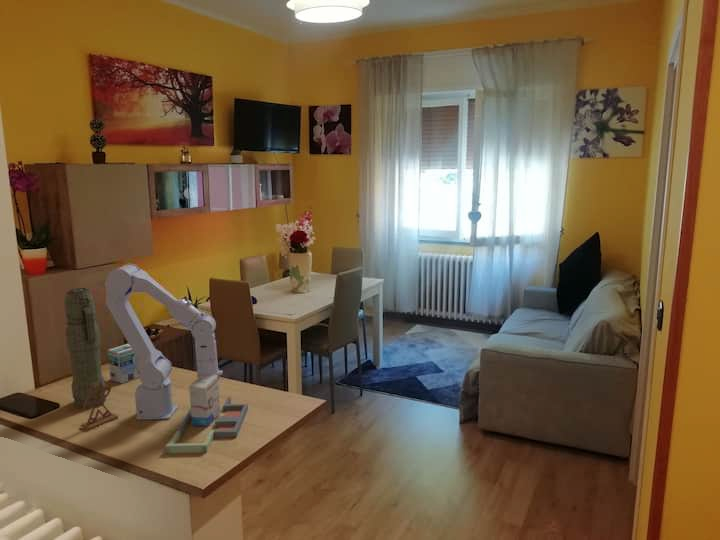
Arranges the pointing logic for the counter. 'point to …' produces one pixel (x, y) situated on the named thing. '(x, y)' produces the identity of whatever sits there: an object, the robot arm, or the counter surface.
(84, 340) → the grey stone statue
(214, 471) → the counter surface
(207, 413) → the ink box
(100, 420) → the wooden stand
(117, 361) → the light bulb box
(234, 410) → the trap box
